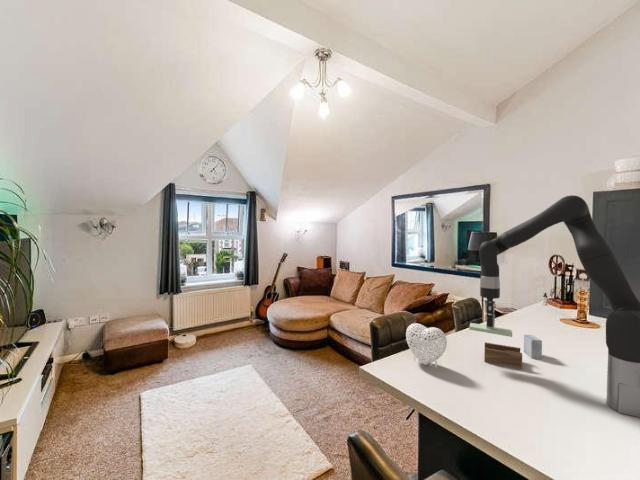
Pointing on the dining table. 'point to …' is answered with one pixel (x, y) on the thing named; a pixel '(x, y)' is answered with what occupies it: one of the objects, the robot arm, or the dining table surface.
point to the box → (503, 355)
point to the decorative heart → (426, 343)
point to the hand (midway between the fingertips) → (489, 325)
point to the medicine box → (533, 346)
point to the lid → (491, 328)
